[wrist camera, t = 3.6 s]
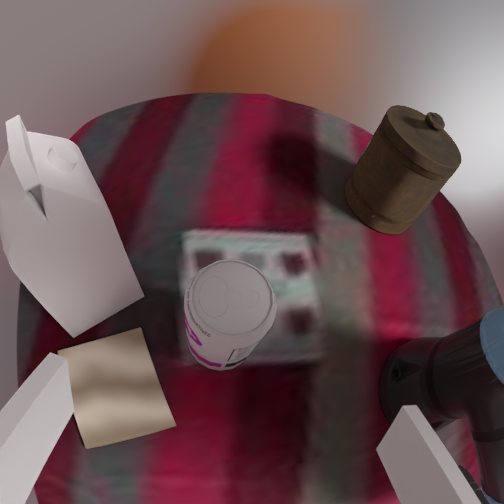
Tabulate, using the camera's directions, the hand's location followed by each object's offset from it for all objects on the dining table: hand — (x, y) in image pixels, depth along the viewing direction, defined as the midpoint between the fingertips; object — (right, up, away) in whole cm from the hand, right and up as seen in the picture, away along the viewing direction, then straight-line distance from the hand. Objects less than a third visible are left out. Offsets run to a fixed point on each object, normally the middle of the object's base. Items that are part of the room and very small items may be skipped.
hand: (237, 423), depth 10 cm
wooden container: (+25, +16, +47) cm, 55 cm away
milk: (-22, +2, +29) cm, 37 cm away
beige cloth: (-16, -11, +23) cm, 30 cm away
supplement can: (-4, -5, +29) cm, 30 cm away
